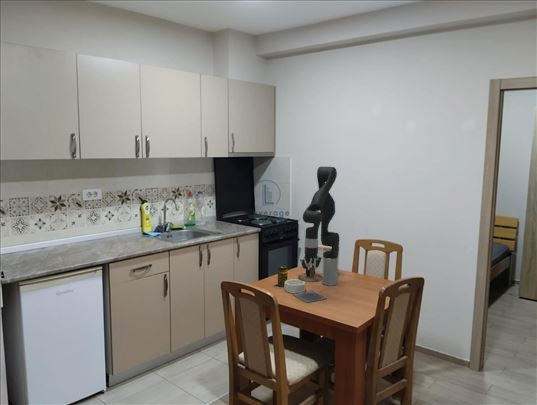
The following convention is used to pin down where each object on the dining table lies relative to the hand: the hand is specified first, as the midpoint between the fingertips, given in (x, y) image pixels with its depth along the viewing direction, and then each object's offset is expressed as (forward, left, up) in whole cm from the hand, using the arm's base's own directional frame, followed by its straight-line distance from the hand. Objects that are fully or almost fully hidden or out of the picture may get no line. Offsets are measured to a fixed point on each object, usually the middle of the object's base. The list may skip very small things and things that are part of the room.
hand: (310, 275), depth 242 cm
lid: (0, 0, -2) cm, 2 cm away
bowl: (+1, -14, -13) cm, 19 cm away
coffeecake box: (-38, -33, -13) cm, 52 cm away
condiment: (+4, -25, -13) cm, 29 cm away
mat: (0, 0, -13) cm, 13 cm away
